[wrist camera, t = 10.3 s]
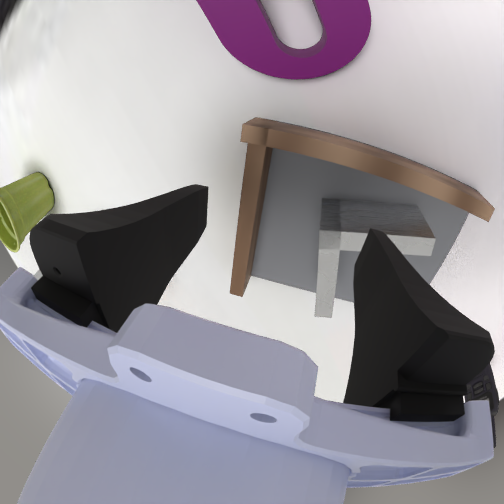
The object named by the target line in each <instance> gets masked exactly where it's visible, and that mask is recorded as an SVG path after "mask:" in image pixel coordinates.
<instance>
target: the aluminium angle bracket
mask: <svg viewBox="0 0 504 504" xmlns="http://www.w3.org/2000/svg"><path fill="white" fill-rule="evenodd" d="M370 228H372V229H376V230H379V231H382V232H384V233H385V234H386V235H387V236H388V237H389V238H390V240H391V241H392V242H393V243H394V244H395V245H396V247H397V248H398V249H399V250H400V252H401V253H402V254H407V255H421V256H431V254H432V251H433V247H434V244H435V240H436V238H435V236H434V234H433V232H432V230H431V229H430V227H429V225H428V223H427V221H426V220H425V218H424V216H423V214H422V213H421V211H420V209H419V207H418V206H417V205H408V204H397V203H386V202H373V201H359V200H343V199H324V198H322V205H321V218H320V229H319V256H318V275H317V291H316V305H315V317H328V318H332V311H333V304H334V297H335V289H336V281H337V272H338V263H339V253H340V250H346V251H361V249H362V247H363V244H364V242H365V240H366V237H367V235H368V232H369V230H370Z"/></svg>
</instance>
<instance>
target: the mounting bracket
mask: <svg viewBox="0 0 504 504" xmlns="http://www.w3.org/2000/svg"><path fill="white" fill-rule="evenodd" d="M196 1H197V2H198V4H199V5H200V7H201V9H202V10H203V12H204V14H205V15H206V17H207V19H208V20H209V22H210V24H211V26H212V27H213V29H214V31H215V33H216V34H217V36H218V38H219V39H220V41H221V43H222V44H223V45H224V47H225V48H226V49H227V50H228V51H229V52H230V53H231V54H232V55H233V56H234V57H235V58H236V59H237V60H239V61H240V62H242V63H243V64H244V65H246V66H248V67H250V68H251V69H254V70H256V71H258V72H261V73H263V74H266V75H270V76H273V77H278V78H285V79H309V78H315V77H320V76H323V75H327V74H329V73H332V72H334V71H336V70H338V69H340V68H342V67H344V66H345V65H347V64H348V63H349V62H350V61H352V60H353V59H354V58H355V57H356V56H357V55H358V53H359V52H360V51H361V50H362V48H363V47H364V45H365V43H366V41H367V39H368V36H369V32H370V27H371V12H370V7H369V3H368V0H313V3H314V5H315V8H316V11H317V13H318V16H319V19H320V21H321V24H322V28H323V34H322V37H321V39H320V41H319V42H318V43H317V44H316V45H314V46H312V47H310V48H307V49H294V48H291V47H288V46H286V45H285V44H283V43H282V42H281V41H280V40H279V39H278V37H277V36H276V33H275V31H274V29H273V27H272V25H271V22H270V20H269V18H268V16H267V14H266V12H265V10H264V8H263V6H262V4H261V2H260V0H196Z"/></svg>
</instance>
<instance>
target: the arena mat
mask: <svg viewBox="0 0 504 504" xmlns="http://www.w3.org/2000/svg"><path fill="white" fill-rule="evenodd" d="M278 122H279V121H278ZM279 123H284V122H279ZM284 124H288V123H284ZM289 125H293V124H289ZM294 126H298V125H294ZM298 127H302V126H298ZM303 128H306V127H303ZM307 129H311V128H307ZM311 130H315V129H311ZM315 131H319V130H315ZM319 132H323V131H319ZM323 133H327V132H323ZM327 134H330V133H327ZM331 135H334V134H331ZM334 136H338V135H334ZM338 137H341V136H338ZM342 138H345V137H342ZM345 139H348V138H345ZM348 140H352V139H348ZM352 141H355V140H352ZM355 142H358V141H355ZM358 143H361V142H358ZM362 144H365V143H362ZM365 145H368V144H365ZM368 146H371V145H368ZM371 147H374V146H371ZM374 148H377V147H374ZM377 149H380V148H377ZM380 150H383V149H380ZM383 151H385V150H383ZM386 152H388V151H386ZM389 153H391V152H389ZM391 154H394V153H391ZM394 155H397V154H394ZM397 156H399V155H397ZM399 157H402V156H399ZM402 158H405V157H402ZM405 159H407V158H405ZM407 160H410V159H407ZM410 161H412V160H410ZM412 162H415V161H412ZM415 163H417V162H415ZM417 164H420V163H417ZM420 165H422V164H420ZM422 166H424V165H422ZM425 167H427V166H425ZM427 168H429V167H427ZM429 169H432V168H429ZM432 170H434V169H432ZM434 171H436V170H434ZM436 172H438V171H436ZM439 173H441V172H439ZM441 174H443V173H441ZM443 175H445V174H443ZM445 176H447V175H445ZM447 177H449V176H447ZM450 178H451V177H450ZM452 179H454V178H452ZM454 180H456V179H454ZM456 181H458V180H456ZM458 182H460V181H458ZM460 183H462V182H460ZM462 184H464V183H462ZM464 185H466V184H464ZM466 186H468V185H466ZM468 187H470V186H468ZM470 188H472V187H470ZM472 189H474V188H472ZM474 190H475V189H474ZM476 191H477V190H476ZM322 198H324V199H343V200H359V201H373V202H386V203H397V204H408V205H417V206H418V207H419V209H420V211H421V213H422V214H423V216H424V218H425V220H426V221H427V223H428V225H429V227H430V229H431V230H432V232H433V234H434V236H435V238H436V240H435V244H434V247H433V251H432V254H431V256H421V255H407V254H403V255H404V257H405V258H406V259H407V260H408V261H409V263H410V264H411V265H412V266H413V267H414V269H415V270H416V271H417V272H418V273H419V274H420V275H421V277H422V278H423V279H424V280H425V281H426V282H427V283H428V284H430V283H431V281H432V280H433V278H434V276H435V275H436V273H437V272H438V270H439V268H440V267H441V265H442V263H443V262H444V260H445V258H446V256H447V255H448V253H449V251H450V249H451V247H452V246H453V244H454V242H455V240H456V238H457V236H458V234H459V232H460V230H461V228H462V226H463V224H464V222H465V220H466V218H467V216H468V214H469V212H467V211H465V210H463V209H461V208H458V207H456V206H454V205H452V204H449V203H447V202H445V201H442V200H440V199H438V198H435V197H433V196H430V195H428V194H425V193H423V192H420V191H418V190H415V189H413V188H410V187H407V186H405V185H402V184H399V183H396V182H394V181H391V180H388V179H385V178H382V177H379V176H376V175H373V174H370V173H367V172H364V171H360V170H357V169H354V168H351V167H347V166H344V165H340V164H337V163H333V162H330V161H326V160H322V159H318V158H314V157H310V156H306V155H302V154H298V153H294V152H290V151H285V150H281V149H276V148H273V150H272V156H271V162H270V168H269V173H268V179H267V185H266V191H265V197H264V203H263V209H262V214H261V220H260V226H259V232H258V238H257V243H256V249H255V255H254V261H253V267H252V272H251V276H255V277H258V278H262V279H266V280H269V281H273V282H277V283H280V284H284V285H288V286H292V287H295V288H299V289H303V290H307V291H311V292H315V293H316V291H317V275H318V256H319V229H320V218H321V205H322ZM359 254H360V251H346V250H340V253H339V263H338V272H337V281H336V289H335V297H334V298H338V299H342V300H346V301H350V302H354V290H353V279H354V265H355V263H356V260H357V258H358V256H359Z"/></svg>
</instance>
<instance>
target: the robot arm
mask: <svg viewBox="0 0 504 504" xmlns="http://www.w3.org/2000/svg"><path fill="white" fill-rule="evenodd" d="M207 203H208V187H207V186H202V185H197V184H195V185H190V186H186V187H183V188H180V189H177V190H174V191H171V192H168V193H166V194H163V195H160V196H157V197H154V198H150V199H147V200H144V201H141V202H138V203H134V204H130V205H126V206H122V207H118V208H112V209H106V210H101V211H94V212H86V213H74V214H50V215H48V216H47V217H45V218H44V219H43V220H42V221H40V222H39V223H38V224H36V225H35V226H34V227H33V228H32V229H31V231H30V245H31V248H32V251H33V254H34V257H35V259H36V262H37V264H38V266H39V269H40V271H41V273H42V275H43V276H42V277H41V278H40V279H39V280H37V279H36V278H35V276H34V275H32V274H31V273H29V272H28V271H26V270H25V269H23V268H21V267H19V268H18V269H17V270H16V271H15V272H14V273H13V274H12V275H11V276H10V277H9V278H8V279H7V280H6V281H5V282H4V283H3V284H2V285H1V287H0V329H1V330H2V332H3V333H4V335H5V336H6V337H7V339H8V340H9V341H10V342H11V344H12V345H13V346H14V347H16V348H17V349H18V350H19V351H20V352H21V353H22V354H23V355H24V356H25V357H26V358H28V359H29V360H30V361H31V362H32V363H33V364H34V365H35V366H36V367H38V368H39V369H40V370H41V371H42V372H44V373H45V374H46V375H47V376H48V377H49V378H50V379H52V380H53V381H54V382H55V383H57V384H58V385H59V386H60V387H62V388H63V389H64V390H66V391H67V392H68V393H69V394H71V395H72V398H71V399H70V401H69V403H68V404H67V406H66V408H65V410H64V411H63V413H62V415H61V417H60V418H59V420H58V422H57V423H56V425H55V427H54V429H53V431H52V432H51V434H50V436H49V438H48V440H47V442H46V444H45V445H44V447H43V449H42V451H41V453H40V455H39V457H38V459H37V461H36V463H35V465H34V467H33V469H32V471H31V474H30V475H29V477H28V479H27V482H26V484H25V486H24V488H23V490H22V493H21V495H20V498H19V500H18V502H17V504H343V502H344V498H345V493H346V488H348V487H377V486H389V485H399V484H408V483H415V482H421V481H428V480H434V479H439V478H445V477H449V476H452V475H455V474H457V473H460V472H463V471H465V470H468V469H470V468H472V467H475V466H477V465H479V464H482V463H484V462H486V461H488V460H490V459H492V458H493V457H494V451H493V450H494V448H493V433H492V423H491V414H490V407H489V401H487V400H477V401H468V402H466V403H464V401H463V396H465V395H466V394H467V392H468V391H467V385H466V384H468V383H469V382H470V381H471V380H472V379H474V378H475V377H476V376H477V375H478V374H479V373H481V372H482V371H483V370H484V369H485V368H486V367H487V366H488V364H489V363H490V361H491V360H492V358H493V355H494V352H495V351H494V345H493V342H492V339H491V336H490V333H489V332H488V331H487V330H485V329H484V328H482V327H481V326H479V325H477V324H476V323H474V322H473V321H471V320H470V319H469V318H467V317H466V316H465V315H463V314H462V313H461V312H459V311H458V310H457V309H456V308H454V307H453V306H452V305H451V304H449V303H448V302H447V301H446V300H445V299H444V298H443V297H442V296H440V295H439V294H438V293H437V292H436V291H435V290H434V289H433V288H432V287H431V286H430V285H429V284H428V283H427V282H426V281H425V280H424V279H423V278H422V277H421V275H420V274H419V273H418V272H417V271H416V270H415V269H414V267H413V266H412V265H411V264H410V263H409V261H408V260H407V259H406V258H405V257H404V255H403V254H402V253H401V252H400V250H399V249H398V248H397V247H396V245H395V244H394V243H393V242H392V241H391V240H390V238H389V237H388V236H387V235H386V234H385V233H384V232H382V231H379V230H376V229H372V228H370V230H369V232H368V235H367V237H366V240H365V242H364V244H363V247H362V249H361V251H360V254H359V256H358V258H357V260H356V263H355V265H354V279H353V290H354V309H355V339H354V348H353V356H352V363H351V369H350V375H349V380H348V385H347V389H346V394H345V398H344V402H343V403H339V402H333V401H327V400H323V399H321V398H318V397H315V396H314V392H315V386H316V379H317V372H318V366H317V365H316V364H315V363H314V362H313V361H312V360H311V358H310V357H309V356H308V355H307V354H306V353H305V352H304V351H302V350H300V349H298V348H295V347H293V346H290V345H288V344H286V343H283V342H281V341H278V340H274V339H270V338H267V337H263V336H259V335H256V334H252V333H249V332H245V331H242V330H238V329H235V328H232V327H228V326H225V325H222V324H219V323H216V322H212V321H209V320H206V319H203V318H200V317H197V316H194V315H191V314H188V313H185V312H182V311H180V310H177V309H174V308H171V307H167V306H161V305H157V304H158V302H159V300H160V298H161V296H162V294H163V292H164V290H165V289H166V287H167V285H168V283H169V281H170V280H171V278H172V277H173V275H174V274H175V273H176V271H177V270H178V268H179V267H180V266H181V264H182V263H183V262H184V260H185V259H186V258H187V256H188V255H189V254H190V252H191V251H192V249H193V248H194V247H195V245H196V244H197V243H198V241H199V239H200V237H201V235H202V234H203V232H204V230H205V228H206V224H207Z"/></svg>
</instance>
